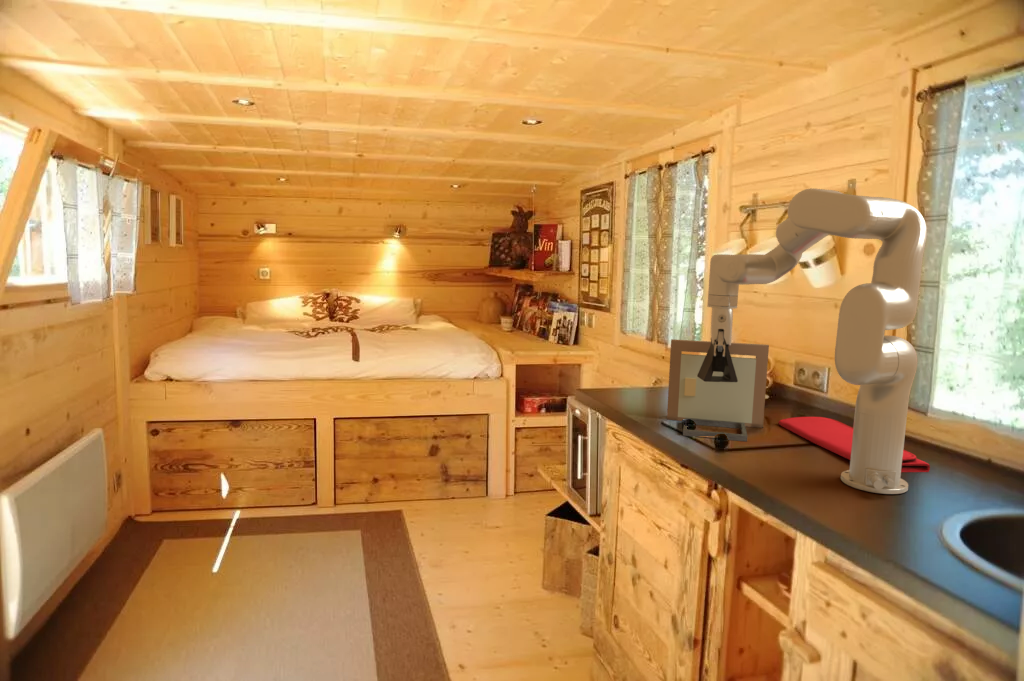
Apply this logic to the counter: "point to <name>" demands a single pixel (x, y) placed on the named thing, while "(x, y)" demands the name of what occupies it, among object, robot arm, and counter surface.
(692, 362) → the tan picture frame
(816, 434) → the dish drying mat
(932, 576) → the counter surface
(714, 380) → the phone stand
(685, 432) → the grey flat square frame
